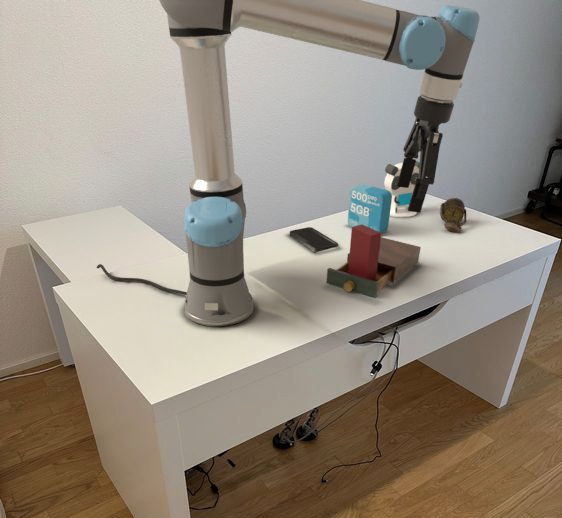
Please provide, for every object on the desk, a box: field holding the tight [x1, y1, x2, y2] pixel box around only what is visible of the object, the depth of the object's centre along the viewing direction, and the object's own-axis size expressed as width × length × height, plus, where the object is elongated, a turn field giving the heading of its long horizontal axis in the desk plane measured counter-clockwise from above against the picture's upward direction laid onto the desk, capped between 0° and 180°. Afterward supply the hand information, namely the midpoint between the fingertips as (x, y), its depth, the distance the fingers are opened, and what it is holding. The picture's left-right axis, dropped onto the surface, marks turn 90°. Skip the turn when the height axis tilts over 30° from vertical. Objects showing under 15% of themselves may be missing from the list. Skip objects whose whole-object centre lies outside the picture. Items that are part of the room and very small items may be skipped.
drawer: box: [326, 261, 394, 299], centre depth 130 cm, size 17×13×5 cm
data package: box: [347, 183, 392, 234], centre depth 159 cm, size 12×4×12 cm, turn 45°
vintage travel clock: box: [439, 197, 467, 233], centre depth 163 cm, size 7×13×10 cm
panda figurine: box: [383, 160, 420, 218], centre depth 171 cm, size 12×11×15 cm
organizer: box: [346, 236, 422, 283], centre depth 137 cm, size 15×13×5 cm
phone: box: [289, 226, 339, 254], centre depth 153 cm, size 8×1×15 cm
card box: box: [348, 225, 382, 281], centre depth 126 cm, size 6×3×13 cm, turn 35°
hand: (408, 198), depth 124 cm, fingers open, 13 cm apart
